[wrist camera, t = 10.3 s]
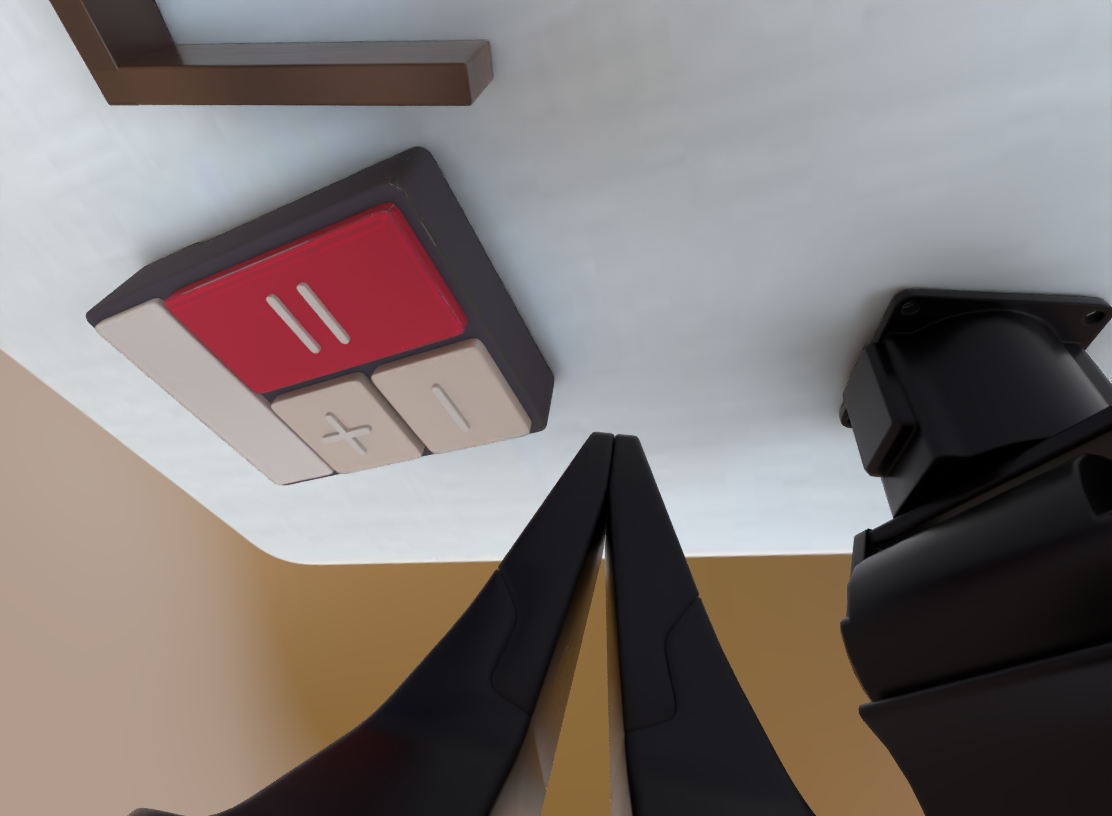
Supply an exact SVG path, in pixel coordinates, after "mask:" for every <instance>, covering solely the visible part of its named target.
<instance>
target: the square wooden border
mask: <svg viewBox="0 0 1112 816" xmlns="http://www.w3.org/2000/svg"><path fill="white" fill-rule="evenodd" d="M49 1H50V3H51V4H52V6H53V8H54V10H55V11H56V13H57V15H58V17H59V18H60V20H61V22H62V24H63V25H64V27H65V29H66V31H67V32H68V34H69V36H70V38H71V39H72V41H73V43H74V45H75V46H76V48H77V50H78V52H79V53H80V55H81V57H82V59H83V60H84V62H85V64H86V66H87V67H88V69H89V71H90V73H91V74H92V76H93V78H94V80H95V81H96V83H97V85H98V87H99V88H100V90H101V92H102V94H103V95H104V97H105V99H106V101H107V102H108V104H109V105H341V106H470V105H472V104H473V103H474V101H475V100H476V99H477V98H478V96H479V95H480V94H481V93H482V91H483V90H484V89H485V88H486V87H487V85H488V84H489V83H490V82H491V80H492V79H493V69H492V60H491V51H490V43H489V41H487V40H442V41H377V42H312V43H247V44H183V45H175V44H174V42H173V40H172V38H171V36H170V34H169V31H168V29H167V27H166V25H165V23H164V21H163V18H162V16H161V14H160V12H159V10H158V8H157V5H156V3H155V1H154V0H49Z"/></svg>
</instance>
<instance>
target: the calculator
mask: <svg viewBox="0 0 1112 816" xmlns="http://www.w3.org/2000/svg"><path fill="white" fill-rule="evenodd" d="M86 319H87V321H88V322H89V323H90V324H91V325H92V326H93V327H94V328H95V330H96V332H97V333H98V334H99V335H101V336H102V337H103V338H104V339H105V340H106V341H107V342H108V343H110V344H111V345H112V346H113V347H114V348H115V349H117V350H118V351H119V352H120V353H121V354H122V355H124V356H125V357H126V358H127V359H128V360H130V361H131V362H132V363H133V364H134V365H135V366H137V367H138V368H139V369H140V370H141V371H142V372H144V373H145V374H146V375H147V376H148V377H150V378H151V379H152V380H153V381H154V382H155V383H157V384H158V385H159V386H160V387H161V388H162V389H164V390H165V391H166V392H167V393H168V394H170V395H171V396H172V397H173V398H174V399H175V400H177V401H178V402H179V403H180V404H181V405H182V406H184V407H185V408H186V409H187V410H188V411H190V412H191V413H192V414H193V415H194V416H195V417H197V418H198V419H199V420H200V421H201V422H202V423H204V424H205V425H206V426H207V427H208V428H210V429H211V430H212V431H213V432H214V433H215V434H217V435H218V436H219V437H220V438H221V439H222V440H224V441H225V442H226V443H227V444H228V445H230V446H231V447H232V448H233V449H234V450H235V451H237V452H238V453H239V454H240V455H241V456H242V457H244V458H245V459H246V460H247V461H248V462H250V463H251V464H252V465H253V466H254V467H255V468H257V469H258V470H259V471H260V472H261V473H262V474H264V475H265V476H266V477H267V478H268V479H270V480H271V481H272V482H274V483H275V484H277V485H290V484H295V483H299V482H304V481H309V480H313V479H318V478H323V477H328V476H332V475H337V474H347V473H352V472H356V471H361V470H366V469H371V468H375V467H380V466H385V465H390V464H394V463H399V462H404V461H409V460H413V459H417V458H420V457H422V456H426V455H431V454H441V453H446V452H451V451H456V450H460V449H465V448H470V447H475V446H479V445H484V444H489V443H494V442H498V441H503V440H508V439H513V438H517V437H522V436H525V435H528V434H530V433H535V432H539V431H542V430H543V429H545V428H546V425H547V421H548V416H549V410H550V404H551V398H552V392H553V387H554V377H553V375H552V373H551V372H550V370H549V368H548V366H547V364H546V362H545V361H544V359H543V357H542V355H541V353H540V351H539V350H538V348H537V346H536V344H535V342H534V340H533V339H532V337H531V335H530V333H529V331H528V329H527V328H526V326H525V324H524V322H523V320H522V318H521V317H520V315H519V313H518V311H517V309H516V308H515V306H514V304H513V302H512V300H511V298H510V297H509V295H508V293H507V291H506V289H505V287H504V286H503V284H502V282H501V280H500V278H499V276H498V275H497V273H496V271H495V269H494V267H493V265H492V264H491V262H490V260H489V258H488V256H487V254H486V253H485V251H484V249H483V247H482V245H481V244H480V242H479V240H478V238H477V236H476V234H475V233H474V231H473V229H472V227H471V225H470V223H469V222H468V220H467V218H466V216H465V214H464V212H463V211H462V209H461V207H460V205H459V203H458V201H457V200H456V198H455V196H454V194H453V192H452V190H451V189H450V187H449V185H448V183H447V181H446V179H445V178H444V176H443V174H442V172H441V170H440V169H439V167H438V165H437V163H436V161H435V160H434V158H433V156H432V155H431V153H430V152H429V151H427V150H426V149H424V148H422V147H414V148H412V149H409V150H407V151H404V152H402V153H400V154H398V155H396V156H393V157H391V158H389V159H387V160H385V161H382V162H380V163H378V164H376V165H374V166H371V167H369V168H367V169H365V170H363V171H360V172H358V173H356V174H354V175H352V176H349V177H347V178H345V179H343V180H341V181H339V182H336V183H334V184H332V185H330V186H328V187H325V188H323V189H321V190H319V191H317V192H314V193H312V194H310V195H308V196H306V197H303V198H301V199H299V200H297V201H295V202H292V203H290V204H288V205H286V206H284V207H281V208H279V209H277V210H275V211H273V212H270V213H268V214H266V215H264V216H262V217H259V218H257V219H255V220H253V221H251V222H248V223H246V224H244V225H242V226H240V227H237V228H235V229H233V230H231V231H229V232H227V233H224V234H222V235H220V236H218V237H216V238H213V239H211V240H209V241H207V242H204V243H195V244H193V245H191V246H188V247H186V248H184V249H182V250H180V251H178V252H175V253H173V254H171V255H169V256H167V257H164V258H162V259H160V260H158V261H156V262H153V263H151V264H149V265H147V266H145V267H143V268H142V269H141V270H139V271H138V272H137V273H135V274H134V275H133V276H132V277H130V278H129V279H128V280H127V281H125V282H124V283H123V284H122V285H120V286H119V287H118V288H117V289H115V290H114V291H113V292H112V293H110V294H109V295H108V296H107V297H105V298H104V299H103V300H102V301H100V302H99V303H98V304H97V305H95V306H94V307H93V308H92V309H90V310H89V311H88V312H87V313H86Z"/></svg>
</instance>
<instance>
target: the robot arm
mask: <svg viewBox="0 0 1112 816" xmlns="http://www.w3.org/2000/svg"><path fill="white" fill-rule="evenodd" d="M908 302H914V303H913V305H911V306H909V307H904V308H903V306H904V304H906V303H908ZM1094 311H1096V312H1094ZM1092 312H1094V313H1093V314H1091V315H1089V316H1087V315H1088V314H1089V313H1092ZM1111 318H1112V307H1111V306H1110V305H1109V304H1108V303H1107V302H1106V301H1105V300H1104V299H1102V298H1098V297H1077V296H1056V295H1035V294H1014V293H992V292H971V291H950V290H929V289H906V290H903V291H901V292H899V293H898V294H896V295H895V296H894V297H893V299H892V300H891V302H890V304H889V306H888V308H887V310H886V313H885V315H884V317H883V319H882V321H881V323H880V325H879V328H878V330H877V332H876V334H875V336H874V338H873V341H872V342H870V343H868V344H867V345H866V346H865V347H864V348H863V350H862V352H861V354H860V357H859V359H858V361H857V363H856V365H855V368H854V370H853V372H852V374H851V376H850V379H849V381H848V383H847V385H846V387H845V390H844V392H843V397H844V403H843V405H842V408H841V410H840V412H839V417H840V421H841V423H842V425H843V426H845V427H848V428H853V432H854V435H855V439H856V442H857V446H858V449H859V452H860V456H861V459H862V463H863V466H864V469H865V471H866V472H867V473H868V474H869V475H870V476H874V477H881V480H882V484H883V487H884V490H885V493H886V496H887V500H888V503H889V506H890V509H891V512H892V516H893V519H892V520H890V521H888V522H886V523H884V524H883V525H881V526H879V527H877V528H875V529H873V530H872V529H867V530H865V531H863V532H861V533H859V534H857V535H855V537H854V545H853V554H852V565H851V574H850V580H849V583H848V585H847V592H848V593H847V595H848V596H847V600H848V601H847V602H848V603H847V613H846V618H844V619H842V621H841V622H840V627H841V635H842V639H843V642H844V645H845V649H846V652H847V655H848V658H849V660H850V663H851V665H852V668H853V671H854V673H855V675H856V677H857V679H858V681H859V683H860V685H861V687H862V689H863V690H864V692H865V693H866V695H867V696H868V698H869V699H870V701H871V702H870V703H866V704H863V705H860V706H859V714H860V716H861V718H862V719H863V721H865V723H866V724H867V725H868V726H869V728H870V729H871V730H872V731H873V732H874V734H875V735H876V736H877V737H878V738H879V739H880V741H881V742H882V743H883V744H884V745H885V746H886V748H887V749H888V750H889V752H890V753H891V755H892V757H893V758H894V760H895V761H896V763H897V764H898V766H899V768H900V769H901V771H902V772H903V774H904V775H905V777H906V778H907V780H908V782H909V783H910V785H911V787H912V789H913V791H914V793H915V795H916V797H917V799H918V801H919V803H920V805H921V807H922V809H923V811H924V814H925V816H1112V384H1111V383H1110V382H1109V380H1108V379H1107V378H1106V377H1105V375H1104V374H1103V373H1102V371H1101V370H1100V369H1099V368H1098V366H1097V365H1096V364H1095V363H1094V361H1093V360H1092V359H1091V358H1090V356H1089V355H1088V354H1087V353H1086V351H1085V350H1086V348H1087V347H1088V346H1089V345H1090V344H1091V342H1092V341H1093V340H1094V339H1095V338H1096V336H1097V335H1098V334H1099V333H1100V331H1101V330H1102V329H1103V328H1104V327H1105V325H1106V324H1107V323H1108V322H1109V321H1110V319H1111ZM605 536H606V540H605ZM604 543H605V574H606V575H605V579H606V625H607V669H608V670H607V671H608V711H609V712H608V716H609V759H610V798H611V803H610V806H611V816H816V815H815V814H814V813H813V811H812V810H811V809H810V807H809V806H808V804H807V803H806V802H805V800H804V799H803V797H802V796H801V794H800V793H799V791H798V790H797V788H796V787H795V785H794V783H793V782H792V780H791V779H790V777H789V775H788V773H787V772H786V770H785V768H784V766H783V764H782V763H781V761H780V759H779V757H778V755H777V754H776V752H775V750H774V748H773V746H772V744H771V742H770V740H769V739H768V737H767V735H766V733H765V731H764V729H763V727H762V726H761V724H760V722H759V720H758V718H757V716H756V714H755V712H754V710H753V709H752V707H751V705H750V703H749V701H748V699H747V697H746V695H745V693H744V692H743V690H742V688H741V686H740V684H739V682H738V680H737V678H736V676H735V674H734V672H733V670H732V668H731V667H730V664H729V662H728V660H727V658H726V656H725V654H724V652H723V650H722V648H721V646H720V643H719V641H718V639H717V636H716V634H715V631H714V629H713V627H712V624H711V622H710V620H709V617H708V615H707V612H706V610H705V607H704V604H703V602H702V599H701V598H699V592H698V590H697V587H696V584H695V582H694V579H693V577H692V574H691V572H690V569H689V566H688V564H687V561H686V559H685V556H684V554H683V551H682V548H681V546H680V543H679V541H678V538H677V536H676V533H675V530H674V528H673V525H672V523H671V520H670V518H669V515H668V512H667V510H666V507H665V505H664V502H663V500H662V497H661V494H660V492H659V489H658V487H657V484H656V482H655V479H654V476H653V474H652V471H651V469H650V466H649V464H648V461H647V458H646V456H645V453H644V451H643V448H642V446H641V443H640V440H639V439H638V437H637V436H633V435H623V434H618V435H616V436H614V435H613V434H612V433H603V432H593V433H592V434H591V435H590V436H589V438H588V439H587V440H586V442H585V443H584V445H583V446H582V448H581V449H580V450H579V452H578V453H577V455H576V456H575V458H574V459H573V460H572V462H571V463H570V465H569V466H568V468H567V469H566V470H565V472H564V473H563V475H562V476H561V478H560V479H559V480H558V482H557V483H556V485H555V486H554V488H553V489H552V490H551V492H550V493H549V495H548V496H547V498H546V499H545V500H544V502H543V503H542V505H541V506H540V508H539V509H538V510H537V512H536V513H535V515H534V516H533V518H532V519H531V520H530V522H529V523H528V525H527V526H526V528H525V529H524V530H523V532H522V533H521V535H520V536H519V538H518V539H517V540H516V542H515V543H514V545H513V546H512V548H511V549H510V550H509V552H508V553H507V555H506V556H505V557H504V559H503V560H502V562H501V563H500V565H499V566H498V569H499V570H495V571H494V573H493V575H492V576H491V577H490V579H489V580H488V581H487V583H486V584H485V586H484V587H483V589H482V590H481V591H480V592H479V594H478V595H477V596H476V598H475V599H474V601H473V602H472V603H471V604H470V606H469V607H468V608H467V610H466V611H465V612H464V613H463V615H462V616H461V617H460V618H459V619H458V620H457V622H456V623H455V624H454V625H453V626H452V628H451V629H450V630H449V631H448V632H447V634H446V635H445V636H444V637H443V638H442V639H441V640H440V641H439V642H438V644H437V645H436V646H435V647H434V648H433V649H432V650H431V652H430V653H429V654H428V655H427V656H426V657H425V658H424V659H423V661H421V663H420V664H419V665H418V666H417V667H416V668H415V669H414V670H413V672H412V673H411V674H410V675H409V676H408V677H407V678H406V679H405V680H404V682H403V683H402V684H401V685H400V686H399V687H398V688H397V689H396V690H395V692H394V693H393V694H392V695H391V696H390V697H389V698H388V699H387V700H386V701H385V702H384V703H383V704H382V705H381V706H380V707H379V708H378V709H377V710H376V711H375V712H374V713H373V714H371V716H369V717H368V718H367V719H366V720H365V721H363V722H362V723H361V724H359V725H358V726H357V727H355V728H354V729H353V730H351V731H350V732H348V733H347V734H345V735H344V736H342V737H341V738H339V739H338V740H336V741H335V742H333V743H332V744H330V745H329V746H327V747H326V748H324V749H323V750H321V751H320V752H318V753H317V754H315V755H314V756H312V757H311V758H309V759H308V760H306V761H305V762H303V763H302V764H300V765H298V766H297V767H295V768H294V769H292V770H291V771H289V772H288V773H286V774H285V775H283V776H282V777H280V778H279V779H277V780H276V781H274V782H273V783H271V784H270V785H268V786H267V787H265V788H264V789H262V790H261V791H259V792H258V793H256V794H255V795H253V796H252V797H250V798H249V799H247V800H245V801H244V802H242V803H240V804H238V805H237V806H235V807H233V808H231V809H228V810H226V811H223V812H221V813H218V814H215V815H210V816H541V811H542V807H543V803H544V799H545V795H546V787H547V786H548V781H549V778H550V773H551V769H552V765H553V761H554V756H555V752H556V748H557V744H558V740H559V736H560V731H561V727H562V723H563V718H564V714H565V710H566V706H567V702H568V698H569V693H570V689H571V685H572V681H573V677H574V672H575V668H576V664H577V660H578V655H579V651H580V647H581V643H582V638H583V634H584V630H585V626H586V621H587V617H588V613H589V609H590V605H591V601H592V596H593V592H594V588H595V584H596V579H597V575H598V571H599V567H600V563H601V559H602V554H603V549H604ZM127 816H183V815H178V814H174V813H169V812H164V811H160V810H154V809H148V808H139V809H136V810H134V811H133V812H131V813H130V814H129V815H127Z"/></svg>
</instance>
